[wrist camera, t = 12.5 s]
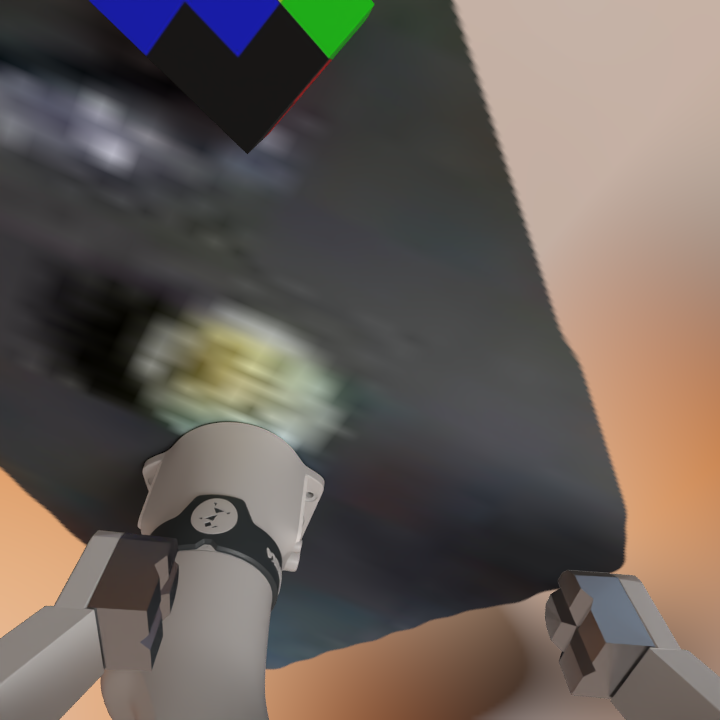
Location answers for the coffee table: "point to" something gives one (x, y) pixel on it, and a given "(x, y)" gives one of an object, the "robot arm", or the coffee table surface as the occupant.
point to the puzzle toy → (239, 52)
